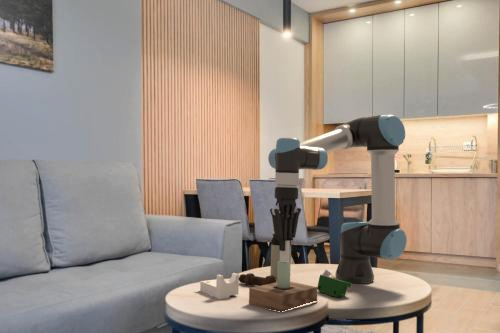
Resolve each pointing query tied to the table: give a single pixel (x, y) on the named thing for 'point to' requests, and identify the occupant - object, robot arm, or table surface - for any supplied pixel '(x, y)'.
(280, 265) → the peg
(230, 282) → the bracket
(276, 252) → the travel mug
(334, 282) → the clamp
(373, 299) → the table surface
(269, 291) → the board
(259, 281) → the bolt
